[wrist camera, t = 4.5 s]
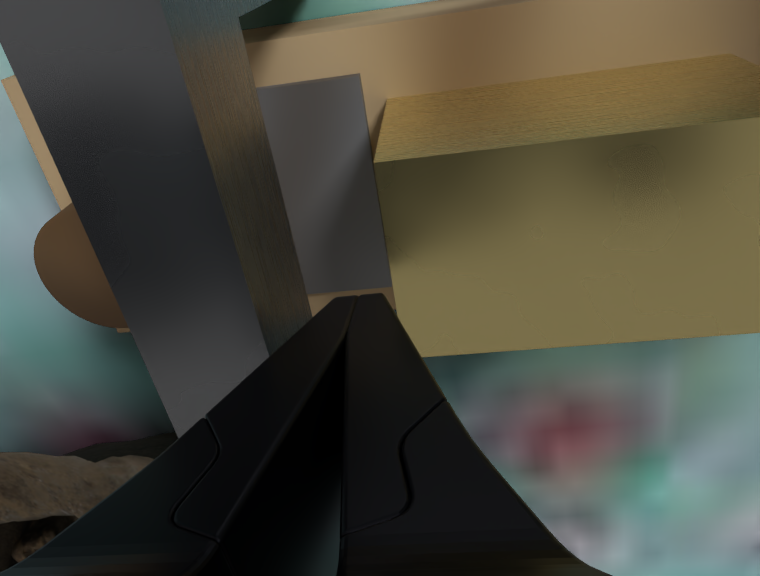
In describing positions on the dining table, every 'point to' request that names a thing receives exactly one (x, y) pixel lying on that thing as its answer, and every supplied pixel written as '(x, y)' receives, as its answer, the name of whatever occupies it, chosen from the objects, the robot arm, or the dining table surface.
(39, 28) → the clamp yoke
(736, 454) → the dining table surface
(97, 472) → the stone bowl
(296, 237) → the plane body
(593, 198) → the olive wooden block
